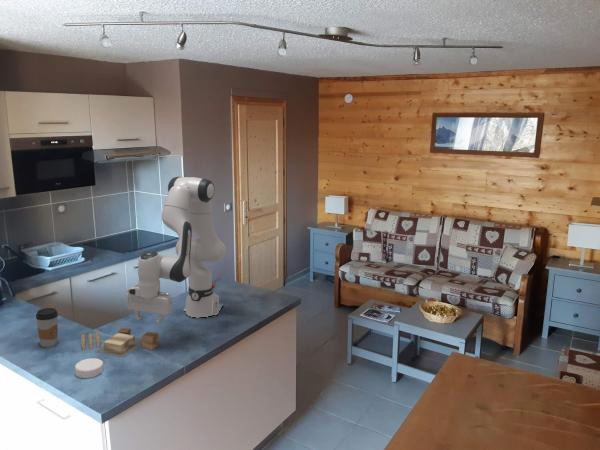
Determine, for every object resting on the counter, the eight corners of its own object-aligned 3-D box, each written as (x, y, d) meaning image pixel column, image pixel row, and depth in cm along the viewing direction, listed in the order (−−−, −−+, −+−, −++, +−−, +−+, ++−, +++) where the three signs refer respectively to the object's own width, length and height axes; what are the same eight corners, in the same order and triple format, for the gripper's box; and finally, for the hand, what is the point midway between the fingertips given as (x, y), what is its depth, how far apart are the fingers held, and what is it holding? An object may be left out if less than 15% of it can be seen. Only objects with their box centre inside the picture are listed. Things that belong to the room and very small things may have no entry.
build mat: (121, 336, 219) (121, 334, 219) (148, 341, 216) (148, 339, 215) (94, 353, 202) (94, 352, 202) (123, 359, 199) (123, 357, 198)
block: (122, 336, 218) (121, 327, 217) (130, 336, 218) (130, 328, 217) (118, 340, 214) (118, 331, 213) (127, 340, 214) (127, 332, 213)
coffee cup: (48, 350, 203) (46, 316, 200) (33, 346, 206) (30, 312, 203) (64, 342, 211) (62, 309, 208) (49, 338, 213) (47, 306, 210)
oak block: (148, 344, 213) (148, 331, 212) (158, 346, 212) (158, 333, 210) (142, 349, 208) (141, 336, 207) (152, 351, 207) (152, 338, 206)
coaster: (89, 381, 182) (88, 372, 181) (69, 374, 185) (68, 366, 185) (109, 369, 191) (108, 361, 190) (89, 363, 194) (89, 355, 194)
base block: (118, 341, 213) (118, 332, 212) (134, 344, 211) (134, 335, 210) (103, 351, 203) (103, 342, 202) (120, 354, 201) (120, 345, 200)
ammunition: (80, 333, 210) (81, 341, 202) (99, 331, 213) (100, 338, 206) (81, 343, 211) (81, 351, 203) (99, 341, 214) (100, 349, 207)
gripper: (175, 291, 205) (175, 322, 207) (132, 285, 210) (133, 315, 213) (167, 296, 199) (167, 328, 201) (123, 289, 204) (124, 320, 207)
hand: (149, 321), depth 207 cm, fingers open, 8 cm apart
